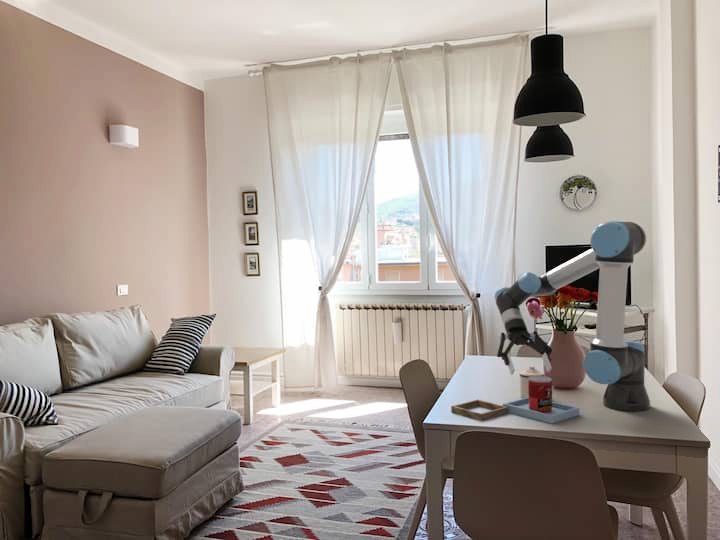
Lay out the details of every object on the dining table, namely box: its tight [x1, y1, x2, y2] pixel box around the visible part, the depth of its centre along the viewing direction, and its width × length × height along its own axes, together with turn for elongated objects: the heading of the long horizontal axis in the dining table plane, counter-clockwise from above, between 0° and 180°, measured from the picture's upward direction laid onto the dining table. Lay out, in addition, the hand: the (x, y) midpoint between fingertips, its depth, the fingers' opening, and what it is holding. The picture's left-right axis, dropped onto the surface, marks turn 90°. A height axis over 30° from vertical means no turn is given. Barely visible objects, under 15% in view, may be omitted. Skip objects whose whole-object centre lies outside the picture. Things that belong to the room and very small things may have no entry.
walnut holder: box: [450, 399, 509, 421], centre depth 204 cm, size 14×14×2 cm
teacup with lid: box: [519, 365, 545, 399], centre depth 224 cm, size 12×9×12 cm
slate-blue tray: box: [502, 397, 580, 424], centre depth 202 cm, size 20×15×2 cm
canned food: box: [528, 375, 553, 413], centre depth 202 cm, size 8×8×11 cm
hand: (531, 371), depth 207 cm, fingers open, 13 cm apart
